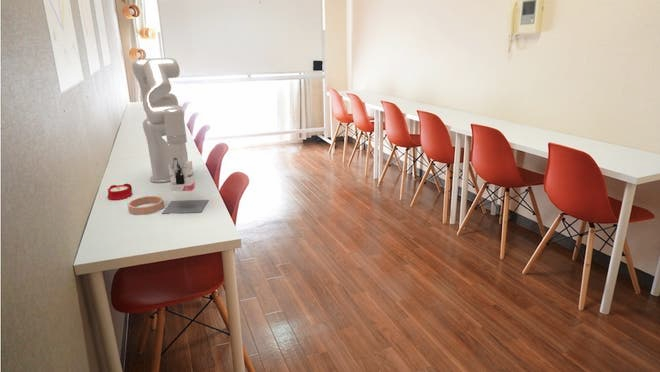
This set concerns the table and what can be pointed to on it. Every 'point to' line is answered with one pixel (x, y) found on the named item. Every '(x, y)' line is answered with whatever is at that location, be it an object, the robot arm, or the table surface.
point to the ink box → (188, 178)
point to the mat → (185, 206)
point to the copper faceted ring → (147, 209)
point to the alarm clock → (119, 192)
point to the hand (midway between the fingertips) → (182, 181)
